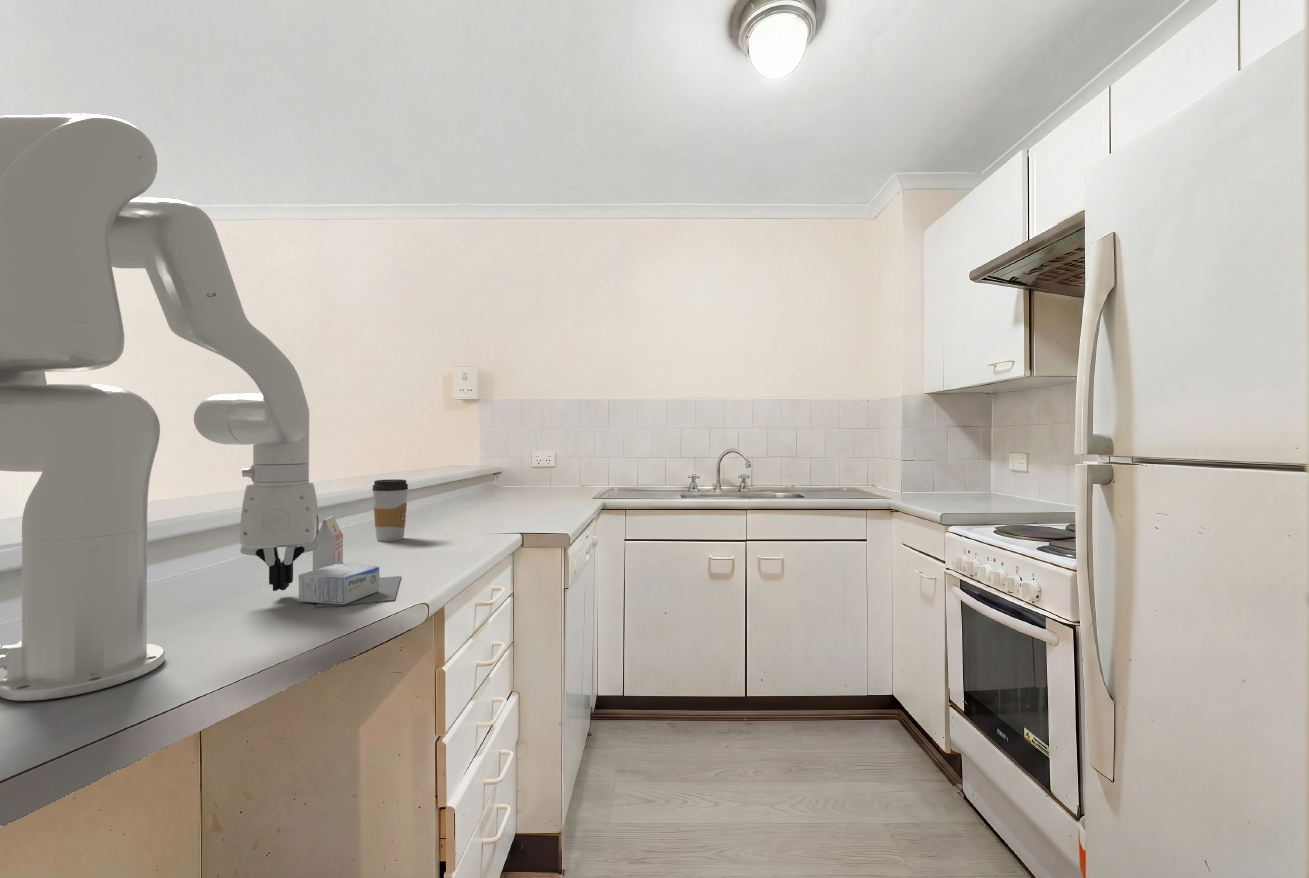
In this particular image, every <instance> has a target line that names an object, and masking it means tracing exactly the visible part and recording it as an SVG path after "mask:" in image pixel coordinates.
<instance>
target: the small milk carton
mask: <svg viewBox="0 0 1309 878" xmlns="http://www.w3.org/2000/svg"><path fill="white" fill-rule="evenodd" d="M318 539H319V543H320V547H319V548H318V549H317V550H313V551H312V571H314V570H317V569H320V568H324V567H327V566H331V565H334V564H344V534H343V532H342V530H341V528H340V526H339V525H338V522H337V520H336V517H335V515H330V516H329V517H326V518H325V519H323V520H322V523H321V525H320V526H319V533H318Z"/></svg>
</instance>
